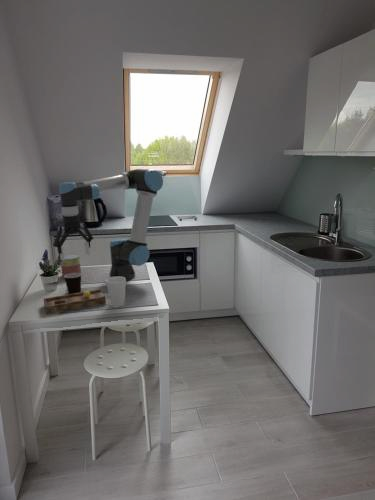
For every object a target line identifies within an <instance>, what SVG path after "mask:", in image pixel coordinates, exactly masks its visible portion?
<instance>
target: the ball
mask: <svg viewBox="0 0 375 500" xmlns="http://www.w3.org/2000/svg"><path fill="white" fill-rule="evenodd" d="M89 291H90V290H85V291H83V292H84V293H83V296H84V297H85V298H88V297H90V292H89Z"/></svg>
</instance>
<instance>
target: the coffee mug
mask: <svg viewBox="0 0 375 500" xmlns="http://www.w3.org/2000/svg"><path fill="white" fill-rule="evenodd" d="M64 277H65V278H64V280H65V285H66V288H67V292H68V293H67V295H68V294H74V293H80V292H82V273H81V274H80V273H70V274H67V275H65V276H64Z"/></svg>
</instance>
